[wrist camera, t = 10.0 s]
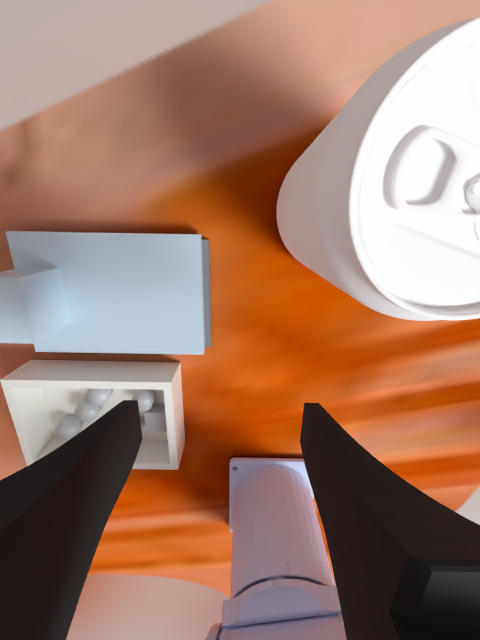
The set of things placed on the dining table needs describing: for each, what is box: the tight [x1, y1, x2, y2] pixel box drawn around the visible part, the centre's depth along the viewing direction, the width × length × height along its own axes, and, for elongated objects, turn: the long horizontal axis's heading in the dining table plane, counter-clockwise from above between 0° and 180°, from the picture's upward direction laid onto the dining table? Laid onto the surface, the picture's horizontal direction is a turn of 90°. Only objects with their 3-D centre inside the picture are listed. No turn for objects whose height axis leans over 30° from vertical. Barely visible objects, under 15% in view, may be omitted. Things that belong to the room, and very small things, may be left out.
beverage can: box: [276, 17, 480, 321], centre depth 13 cm, size 8×8×12 cm
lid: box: [0, 231, 205, 355], centre depth 18 cm, size 9×13×4 cm
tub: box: [0, 360, 185, 470], centre depth 22 cm, size 8×12×3 cm, turn 89°
